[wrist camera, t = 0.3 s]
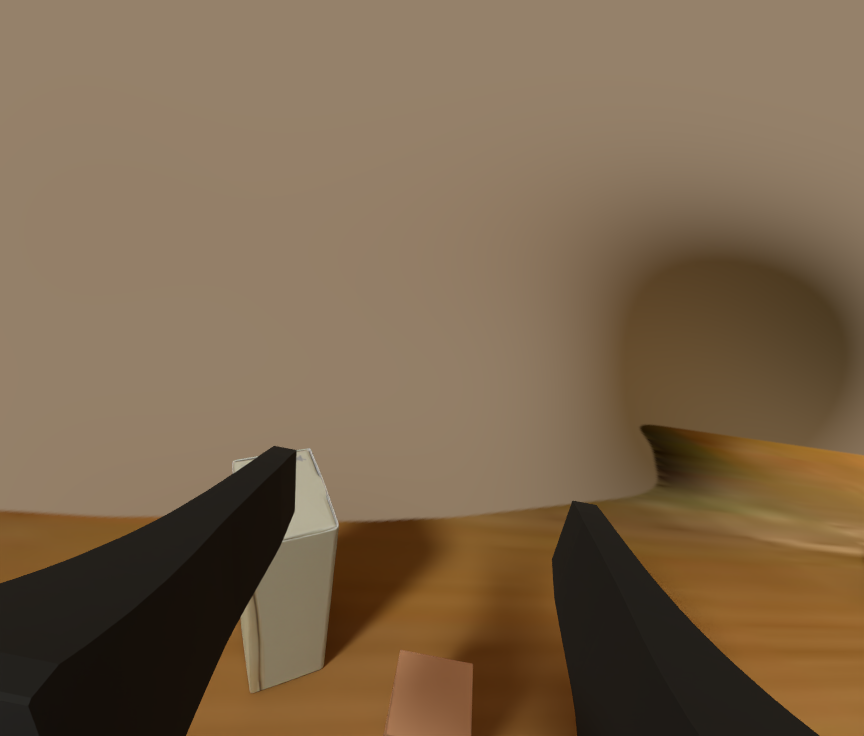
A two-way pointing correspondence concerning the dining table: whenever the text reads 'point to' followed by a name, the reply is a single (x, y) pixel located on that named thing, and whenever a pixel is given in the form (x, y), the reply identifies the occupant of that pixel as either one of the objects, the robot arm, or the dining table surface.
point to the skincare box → (294, 588)
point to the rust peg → (430, 697)
